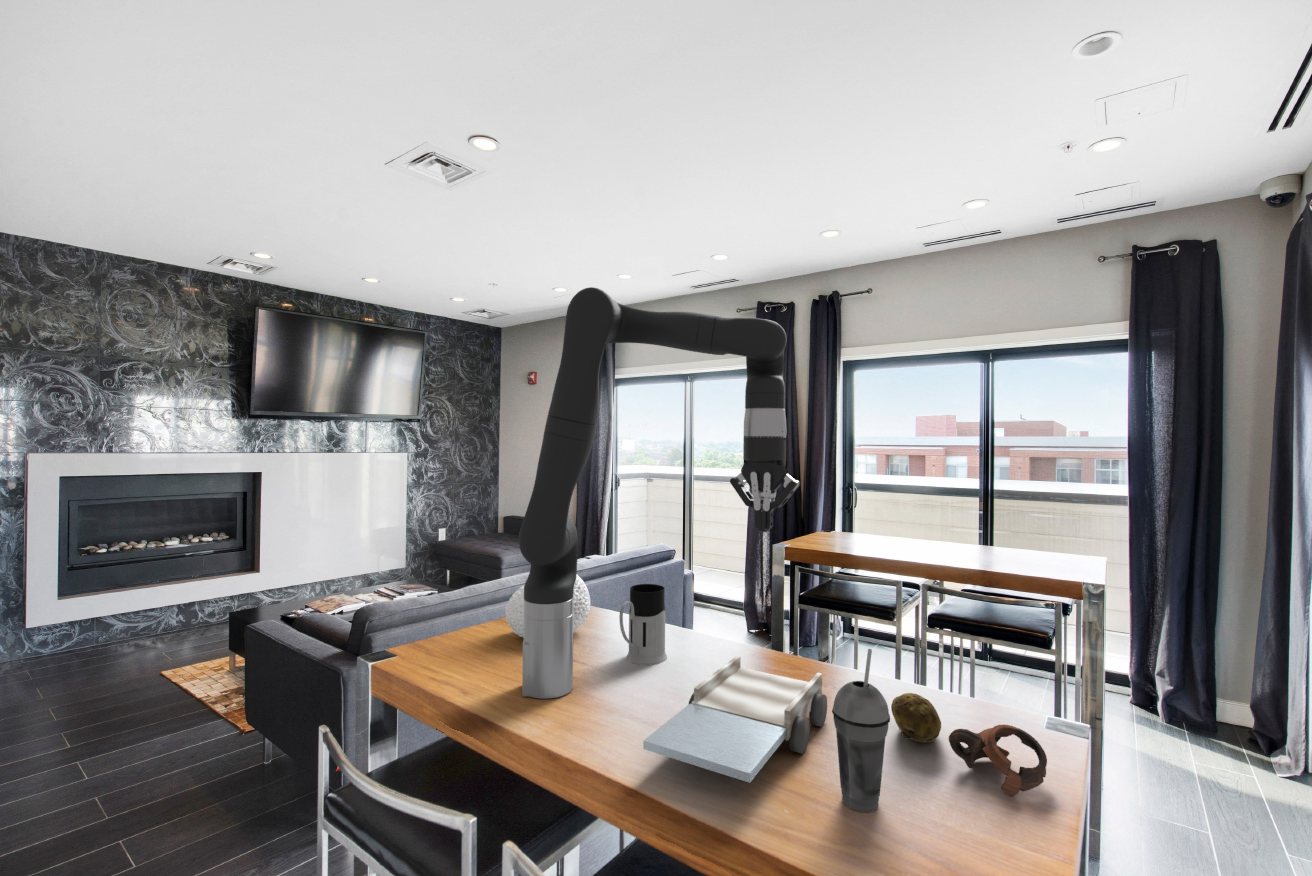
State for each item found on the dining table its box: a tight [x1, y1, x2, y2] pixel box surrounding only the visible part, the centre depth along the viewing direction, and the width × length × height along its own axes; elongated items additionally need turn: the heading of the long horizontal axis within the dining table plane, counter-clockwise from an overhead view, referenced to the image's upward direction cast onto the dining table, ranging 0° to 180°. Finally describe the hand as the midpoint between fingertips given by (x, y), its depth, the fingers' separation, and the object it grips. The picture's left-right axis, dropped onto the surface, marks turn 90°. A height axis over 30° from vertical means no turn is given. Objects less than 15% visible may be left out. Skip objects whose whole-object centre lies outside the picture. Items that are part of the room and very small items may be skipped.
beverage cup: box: [831, 648, 891, 813], centre depth 80 cm, size 7×7×20 cm
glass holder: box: [618, 583, 668, 666], centre depth 130 cm, size 9×14×15 cm, turn 148°
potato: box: [890, 692, 942, 743], centre depth 97 cm, size 8×13×8 cm, turn 140°
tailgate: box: [642, 703, 786, 784], centre depth 88 cm, size 2×16×14 cm
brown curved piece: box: [948, 724, 1048, 797], centre depth 86 cm, size 12×10×8 cm
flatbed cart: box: [687, 655, 828, 755], centre depth 102 cm, size 18×19×7 cm
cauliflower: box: [504, 574, 592, 639], centre depth 146 cm, size 20×18×16 cm
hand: (763, 531), depth 109 cm, fingers closed
